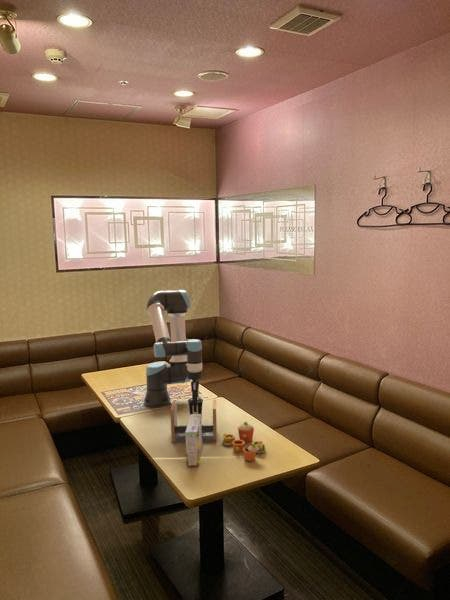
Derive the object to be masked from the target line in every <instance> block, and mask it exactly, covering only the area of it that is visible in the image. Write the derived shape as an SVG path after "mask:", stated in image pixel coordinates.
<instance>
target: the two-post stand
mask: <svg viewBox="0 0 450 600" xmlns="http://www.w3.org/2000/svg"><path fill="white" fill-rule="evenodd" d="M177 404H178V403H177V400H176V399H175V400H173V401H172V403H171V408H170V430H171V431H170V432H171V433H170V434H171V438H170V439H171V444H178V443H179V444H181V443H183V444H184V443H185V444H186V437H185V431H186V428H187V425H188V424H187V425H178V411H177V410H178V409H177V407H178V406H177ZM217 421H218V420H217V398H216V399H212V424H202V443H210V442H211V443H216V442H217V441H218V440H217V439H218V436H217V435H218V430H217V429H218V425H217V424H218V423H217Z"/></svg>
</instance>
